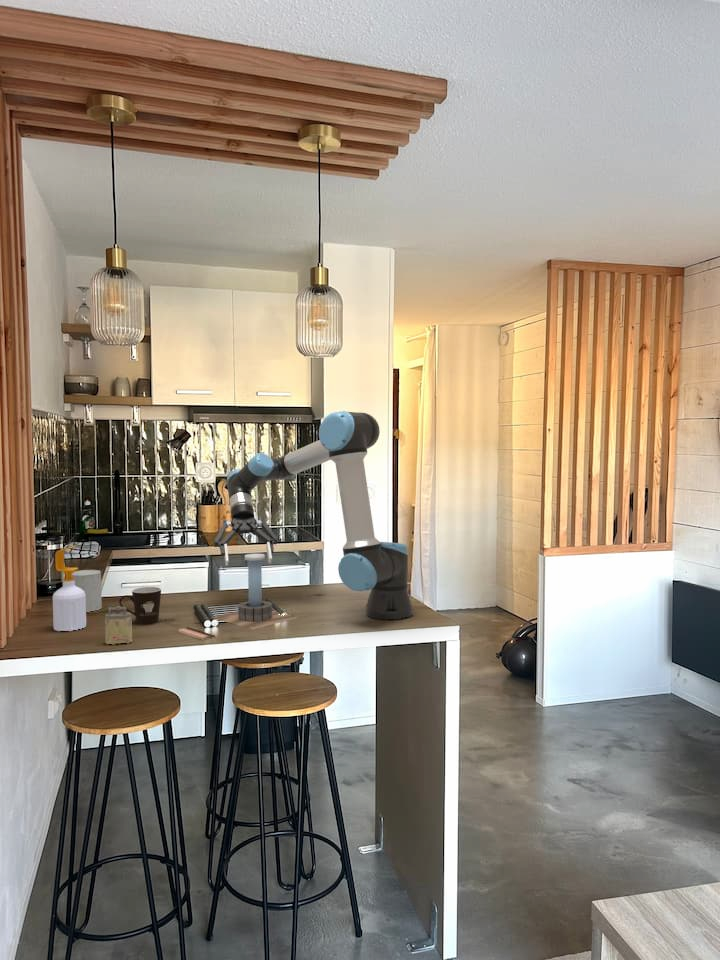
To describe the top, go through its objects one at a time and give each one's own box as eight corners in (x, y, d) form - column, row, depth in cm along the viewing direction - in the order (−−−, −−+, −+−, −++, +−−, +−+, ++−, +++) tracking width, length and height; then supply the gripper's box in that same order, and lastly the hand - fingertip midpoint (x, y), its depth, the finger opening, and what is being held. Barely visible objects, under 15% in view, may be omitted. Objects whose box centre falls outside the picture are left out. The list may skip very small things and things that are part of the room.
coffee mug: (165, 618, 220) (164, 586, 219) (156, 625, 211) (156, 593, 211) (128, 618, 220) (127, 586, 220) (118, 625, 212) (117, 592, 211)
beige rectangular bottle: (133, 640, 196) (132, 605, 196) (131, 644, 193) (130, 608, 192) (106, 641, 195) (105, 606, 194) (104, 645, 191) (103, 609, 191)
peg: (269, 617, 215) (268, 555, 214) (253, 621, 211) (253, 557, 210) (256, 613, 219) (256, 552, 218) (241, 617, 215) (240, 555, 214)
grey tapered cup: (78, 605, 237) (77, 569, 236) (106, 606, 236) (105, 569, 236) (65, 613, 227) (64, 575, 226) (94, 613, 227) (93, 575, 226)
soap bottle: (76, 632, 204) (74, 548, 203) (47, 631, 205) (44, 548, 204) (92, 624, 213) (89, 543, 212) (63, 623, 214) (61, 543, 213)
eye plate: (299, 622, 215) (299, 604, 215) (252, 634, 202) (252, 615, 201) (257, 611, 228) (257, 594, 228) (211, 622, 215) (211, 604, 215)
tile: (237, 631, 205) (237, 628, 205) (202, 640, 196) (202, 637, 196) (212, 624, 213) (212, 621, 213) (178, 632, 204) (178, 629, 204)
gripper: (277, 515, 241) (286, 566, 228) (203, 518, 233) (207, 571, 220) (280, 501, 235) (289, 553, 222) (204, 503, 228) (209, 557, 215)
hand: (248, 562), depth 221 cm, fingers open, 13 cm apart
